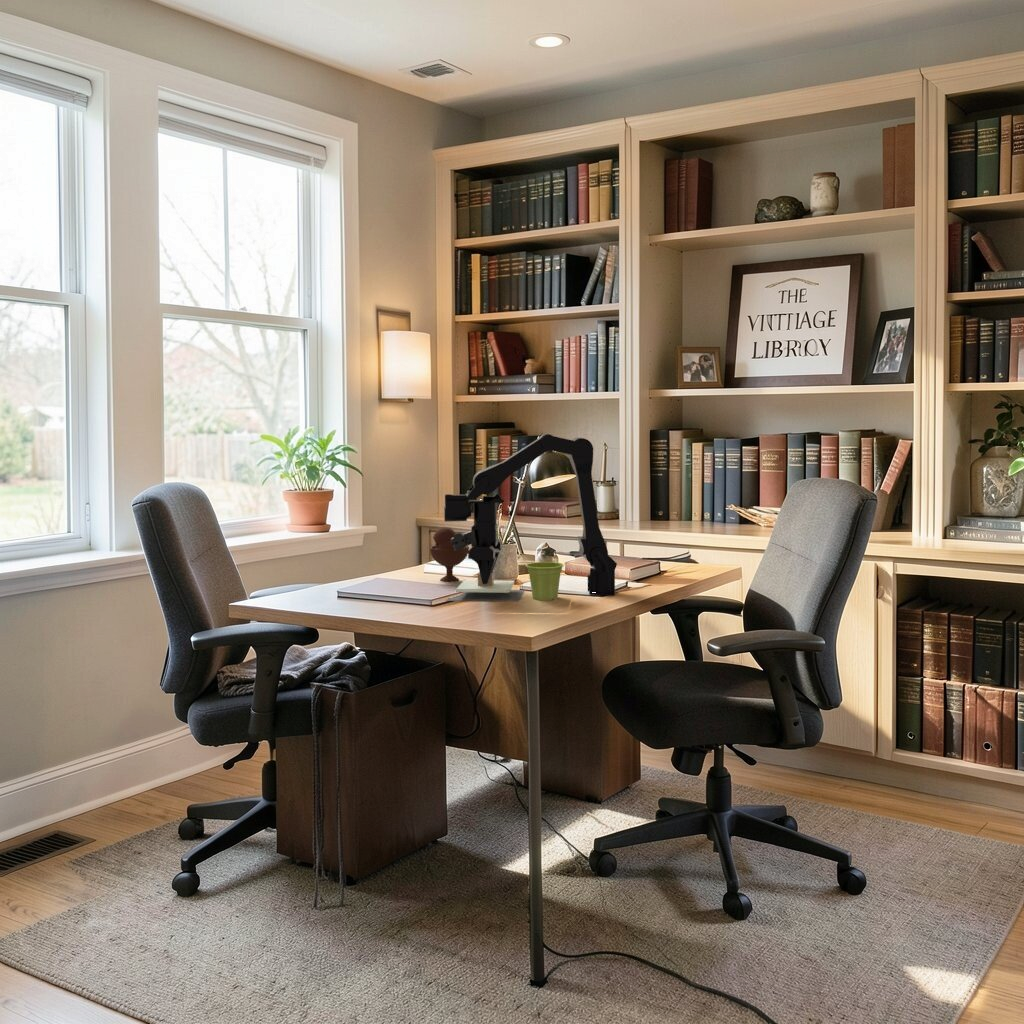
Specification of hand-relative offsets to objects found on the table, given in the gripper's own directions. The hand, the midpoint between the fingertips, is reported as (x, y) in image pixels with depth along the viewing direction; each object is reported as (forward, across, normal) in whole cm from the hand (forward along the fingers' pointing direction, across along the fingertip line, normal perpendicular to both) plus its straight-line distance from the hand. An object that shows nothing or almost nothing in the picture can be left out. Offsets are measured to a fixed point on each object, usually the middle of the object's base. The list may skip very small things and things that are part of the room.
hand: (485, 582), depth 270 cm
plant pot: (+4, +3, +15) cm, 16 cm away
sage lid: (+1, 0, 0) cm, 1 cm away
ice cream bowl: (+4, -22, -13) cm, 26 cm away
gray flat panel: (+4, 0, 0) cm, 4 cm away
